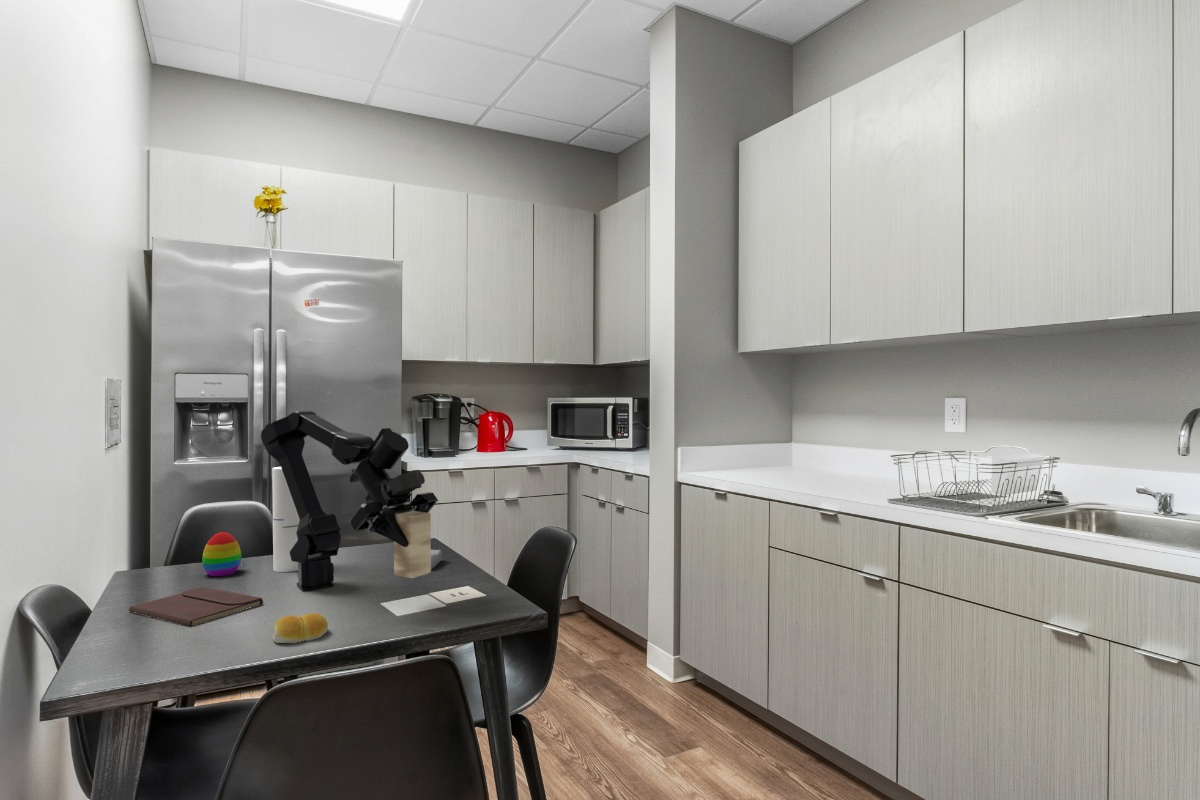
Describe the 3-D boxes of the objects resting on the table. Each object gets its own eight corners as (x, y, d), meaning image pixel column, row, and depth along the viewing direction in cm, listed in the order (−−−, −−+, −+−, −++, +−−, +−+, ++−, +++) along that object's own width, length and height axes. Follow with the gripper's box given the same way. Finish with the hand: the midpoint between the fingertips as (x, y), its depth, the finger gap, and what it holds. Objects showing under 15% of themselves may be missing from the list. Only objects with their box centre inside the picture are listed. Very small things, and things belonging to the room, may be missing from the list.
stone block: (392, 581, 160) (432, 572, 160) (388, 561, 160) (428, 552, 160) (407, 570, 172) (445, 562, 172) (403, 551, 172) (441, 543, 172)
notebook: (189, 629, 123) (189, 618, 123) (128, 614, 132) (128, 604, 132) (263, 606, 136) (263, 596, 136) (203, 594, 146) (203, 585, 146)
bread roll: (332, 638, 117) (332, 615, 117) (276, 649, 112) (275, 625, 112) (322, 625, 124) (322, 603, 124) (269, 634, 119) (268, 612, 119)
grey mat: (397, 617, 127) (397, 616, 127) (380, 604, 135) (380, 603, 135) (446, 607, 133) (446, 605, 133) (427, 595, 141) (427, 594, 141)
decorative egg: (220, 568, 166) (219, 528, 166) (249, 570, 165) (248, 529, 165) (194, 577, 158) (193, 535, 158) (224, 578, 157) (223, 536, 157)
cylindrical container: (284, 564, 170) (283, 465, 170) (311, 565, 169) (309, 466, 169) (267, 571, 163) (265, 468, 163) (294, 572, 162) (293, 469, 162)
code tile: (446, 605, 134) (446, 603, 134) (428, 594, 142) (428, 593, 142) (486, 596, 140) (486, 595, 140) (468, 587, 147) (468, 585, 147)
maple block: (394, 574, 133) (393, 514, 133) (412, 569, 138) (412, 510, 137) (412, 578, 131) (411, 516, 131) (430, 572, 135) (430, 513, 135)
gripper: (360, 462, 128) (401, 525, 122) (431, 454, 144) (470, 510, 138) (333, 500, 132) (372, 562, 126) (405, 488, 148) (442, 543, 143)
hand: (417, 543), depth 133 cm, fingers closed on maple block, 5 cm apart
